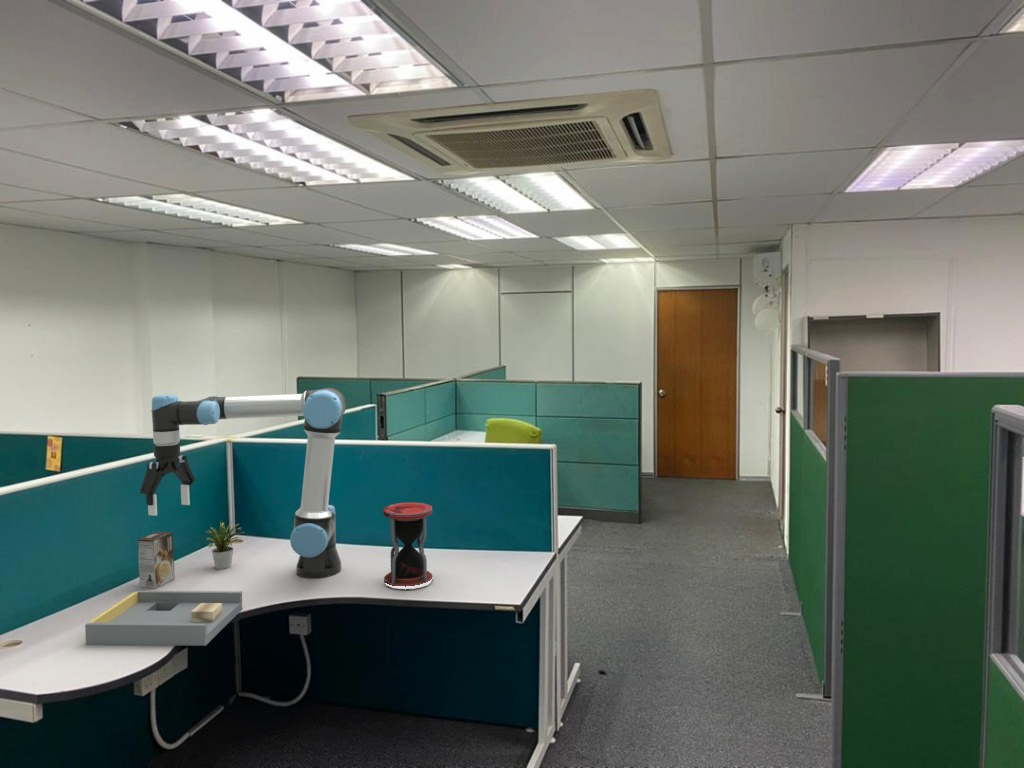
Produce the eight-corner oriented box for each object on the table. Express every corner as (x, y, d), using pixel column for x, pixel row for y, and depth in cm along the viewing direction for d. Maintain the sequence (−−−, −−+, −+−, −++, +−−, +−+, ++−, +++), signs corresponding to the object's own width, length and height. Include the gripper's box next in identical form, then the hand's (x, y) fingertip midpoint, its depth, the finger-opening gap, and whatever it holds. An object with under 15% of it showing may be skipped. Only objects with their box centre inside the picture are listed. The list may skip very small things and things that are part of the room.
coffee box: (158, 577, 232) (157, 531, 231) (175, 578, 231) (173, 532, 230) (138, 587, 223) (137, 539, 222) (156, 588, 222) (154, 540, 221)
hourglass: (406, 570, 240) (405, 499, 238) (442, 579, 231) (442, 506, 229) (373, 584, 226) (372, 509, 225) (410, 594, 218) (410, 517, 216)
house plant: (223, 576, 233) (222, 529, 232) (191, 572, 237) (189, 526, 236) (252, 563, 247) (250, 519, 245) (220, 559, 251) (219, 515, 250)
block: (222, 613, 197) (222, 603, 196) (212, 622, 191) (212, 611, 190) (201, 613, 197) (201, 603, 196) (191, 622, 191) (191, 611, 190)
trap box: (242, 609, 206) (241, 591, 205) (205, 645, 182) (204, 625, 181) (136, 608, 206) (136, 590, 206) (86, 644, 182) (85, 624, 182)
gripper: (186, 437, 230) (189, 499, 232) (124, 449, 207) (128, 518, 208) (204, 438, 228) (207, 501, 230) (144, 450, 204) (147, 520, 206)
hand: (169, 509), depth 219 cm, fingers open, 13 cm apart
